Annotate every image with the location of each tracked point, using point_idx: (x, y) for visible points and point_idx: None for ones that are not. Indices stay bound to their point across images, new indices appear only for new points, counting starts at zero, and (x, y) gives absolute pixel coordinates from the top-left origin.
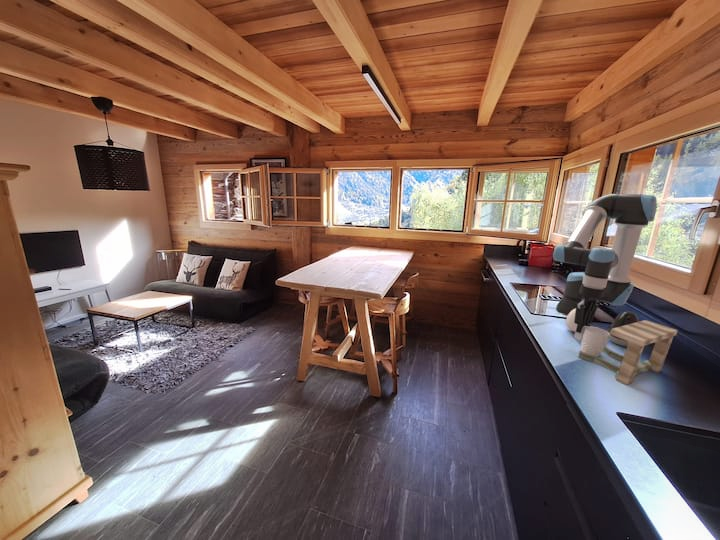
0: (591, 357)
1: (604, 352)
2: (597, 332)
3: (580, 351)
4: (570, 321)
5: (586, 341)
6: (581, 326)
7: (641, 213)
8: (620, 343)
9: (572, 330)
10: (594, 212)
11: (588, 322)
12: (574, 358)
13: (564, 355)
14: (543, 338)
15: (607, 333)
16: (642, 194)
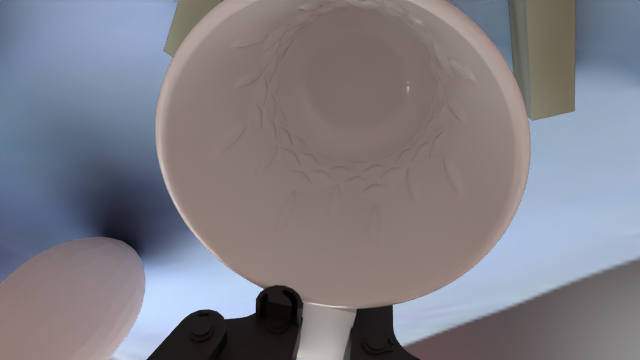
0: (570, 5)
1: None
2: (218, 161)
3: (535, 114)
4: (125, 329)
5: (444, 151)
6: (385, 333)
7: None
8: None
9: (140, 259)
10: None
11: (254, 349)
12: (616, 101)
13: (618, 164)
14: (423, 309)
15: (206, 47)
16: None
